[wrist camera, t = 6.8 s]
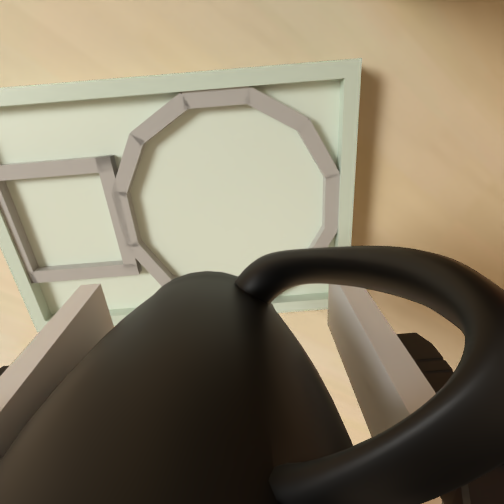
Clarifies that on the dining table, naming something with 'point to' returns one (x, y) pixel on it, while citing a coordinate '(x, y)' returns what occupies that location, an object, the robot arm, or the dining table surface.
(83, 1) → the dining table surface
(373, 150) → the dining table surface
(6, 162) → the tray
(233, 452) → the mug
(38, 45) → the dining table surface
